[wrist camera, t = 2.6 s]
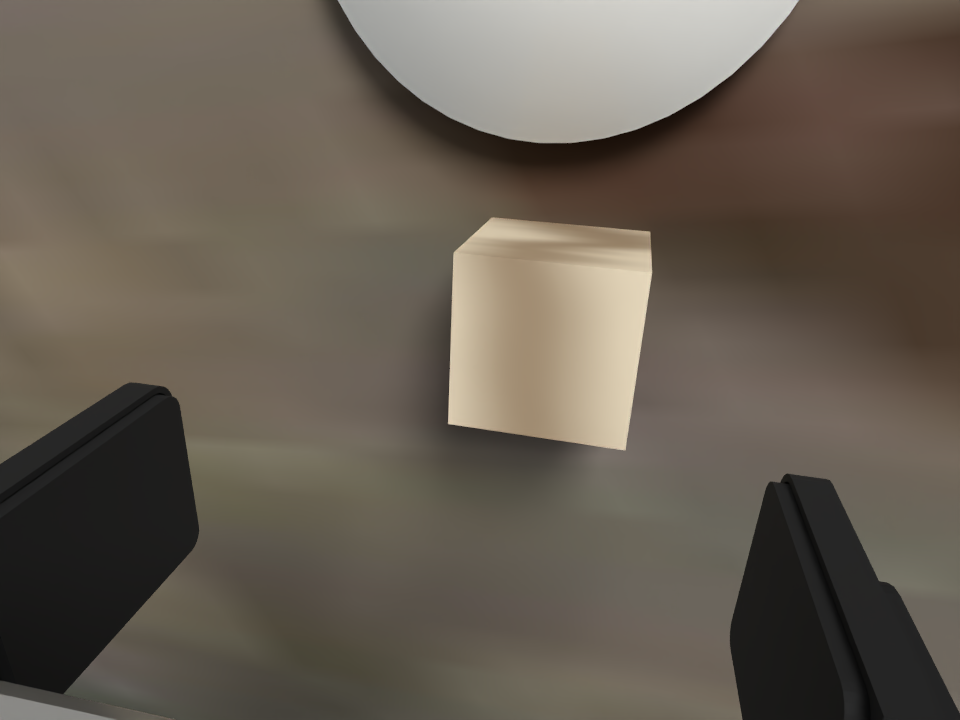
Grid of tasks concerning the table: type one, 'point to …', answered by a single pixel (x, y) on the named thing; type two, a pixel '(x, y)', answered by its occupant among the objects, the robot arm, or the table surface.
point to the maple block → (548, 330)
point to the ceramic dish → (563, 58)
